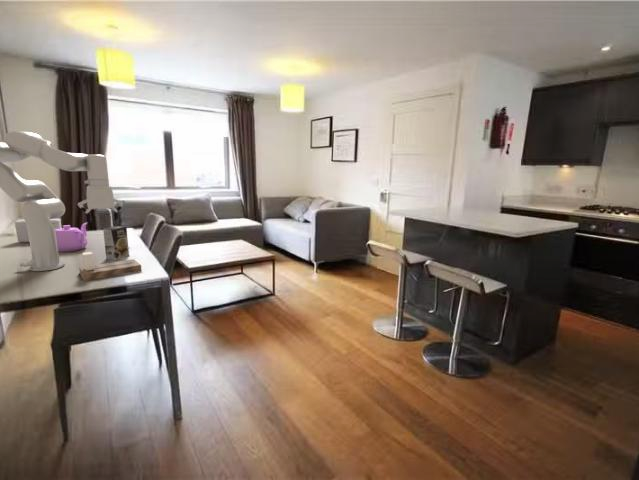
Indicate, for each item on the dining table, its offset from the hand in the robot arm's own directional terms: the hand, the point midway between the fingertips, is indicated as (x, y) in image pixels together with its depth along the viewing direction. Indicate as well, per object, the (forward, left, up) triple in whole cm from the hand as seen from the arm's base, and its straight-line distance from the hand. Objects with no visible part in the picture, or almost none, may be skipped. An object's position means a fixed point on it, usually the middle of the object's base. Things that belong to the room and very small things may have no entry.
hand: (103, 221), depth 150 cm
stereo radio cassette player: (-19, +86, -23) cm, 91 cm away
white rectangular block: (-8, -6, -20) cm, 22 cm away
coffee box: (+8, +19, -23) cm, 31 cm away
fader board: (0, -6, -23) cm, 24 cm away
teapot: (-7, +54, -23) cm, 59 cm away
